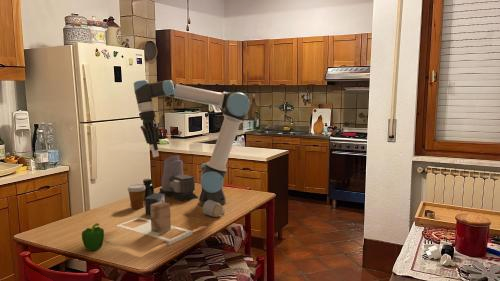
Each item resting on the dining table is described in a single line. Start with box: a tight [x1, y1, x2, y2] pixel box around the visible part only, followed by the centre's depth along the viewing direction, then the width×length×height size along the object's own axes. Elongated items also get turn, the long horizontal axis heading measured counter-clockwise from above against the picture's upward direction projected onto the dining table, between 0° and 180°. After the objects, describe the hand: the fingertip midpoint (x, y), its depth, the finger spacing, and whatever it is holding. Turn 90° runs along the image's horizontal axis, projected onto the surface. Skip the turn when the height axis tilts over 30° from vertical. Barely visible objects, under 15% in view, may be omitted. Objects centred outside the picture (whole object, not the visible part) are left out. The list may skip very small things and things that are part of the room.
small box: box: [144, 192, 166, 217], centre depth 194 cm, size 11×6×10 cm, turn 168°
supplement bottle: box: [142, 178, 155, 202], centre depth 223 cm, size 7×7×12 cm
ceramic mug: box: [202, 200, 226, 218], centre depth 194 cm, size 11×8×8 cm
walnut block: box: [150, 201, 172, 235], centre depth 169 cm, size 6×6×12 cm
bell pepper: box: [81, 222, 105, 251], centre depth 154 cm, size 8×8×10 cm
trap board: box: [116, 216, 193, 246], centre depth 173 cm, size 35×14×2 cm, turn 56°
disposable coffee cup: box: [127, 183, 146, 210], centre depth 208 cm, size 10×10×12 cm
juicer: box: [158, 154, 199, 202], centre depth 232 cm, size 30×16×24 cm, turn 40°
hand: (156, 156), depth 194 cm, fingers closed
